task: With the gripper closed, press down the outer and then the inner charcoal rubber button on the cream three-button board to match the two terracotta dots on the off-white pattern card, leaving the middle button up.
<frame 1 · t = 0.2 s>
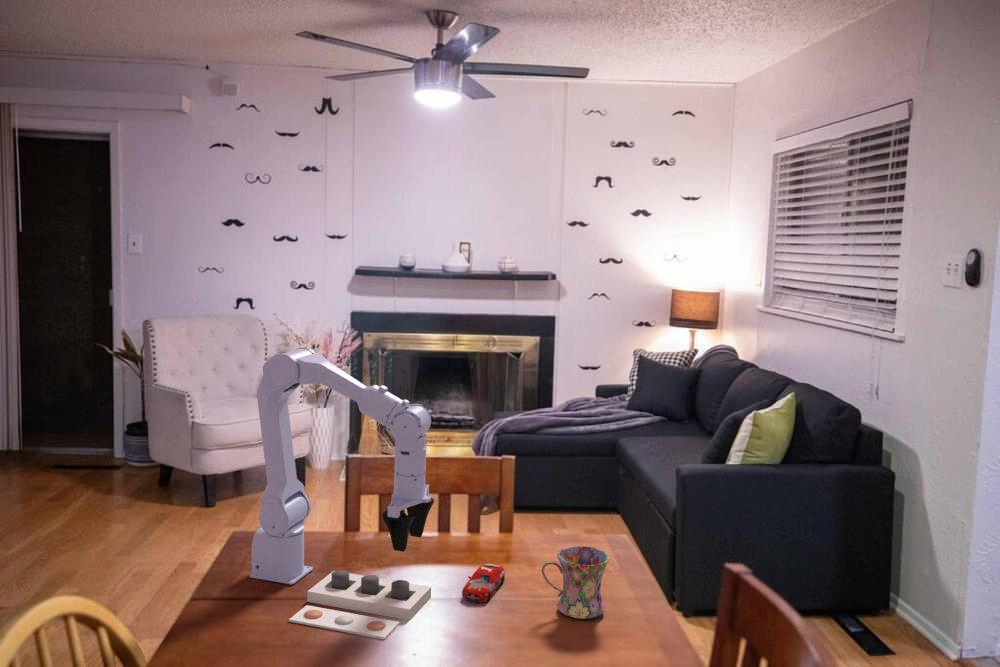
hand: (408, 543, 164), 10 cm above the table, fingers open, 7 cm apart
button outer: (400, 590, 160), point 3 cm above the table, slide at 0.0 cm
button board: (369, 599, 162), on the table
mug: (573, 612, 160), on the table
button middle: (370, 585, 161), point 3 cm above the table, slide at 0.0 cm
race car: (483, 591, 168), on the table
pattern card: (344, 622, 152), on the table
button inner: (340, 580, 163), point 3 cm above the table, slide at 0.0 cm
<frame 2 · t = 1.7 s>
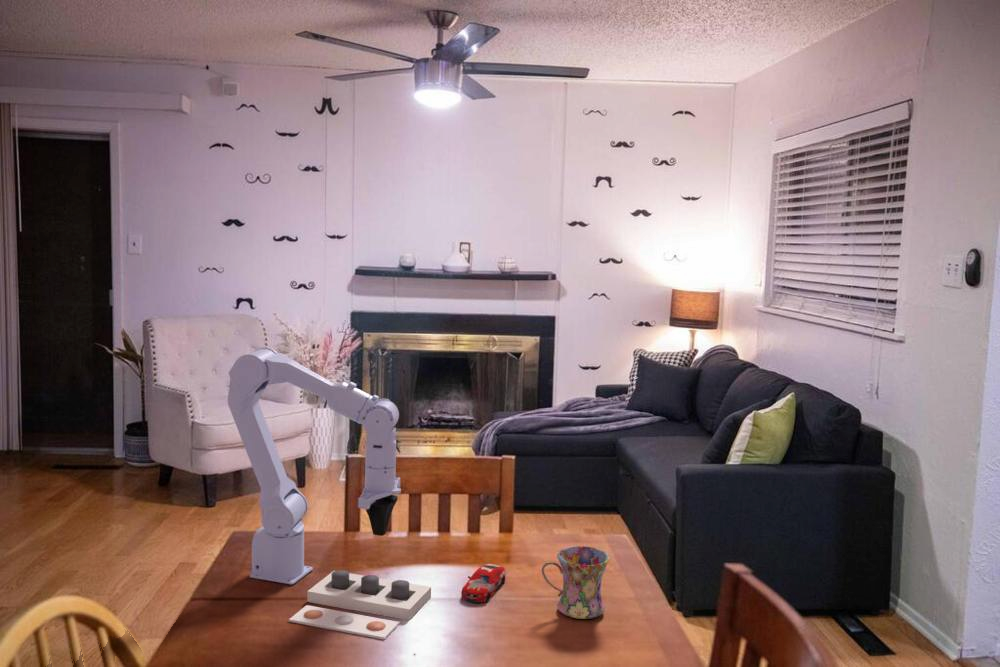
hand: (379, 534, 169), 9 cm above the table, fingers closed
nothing on the table moved.
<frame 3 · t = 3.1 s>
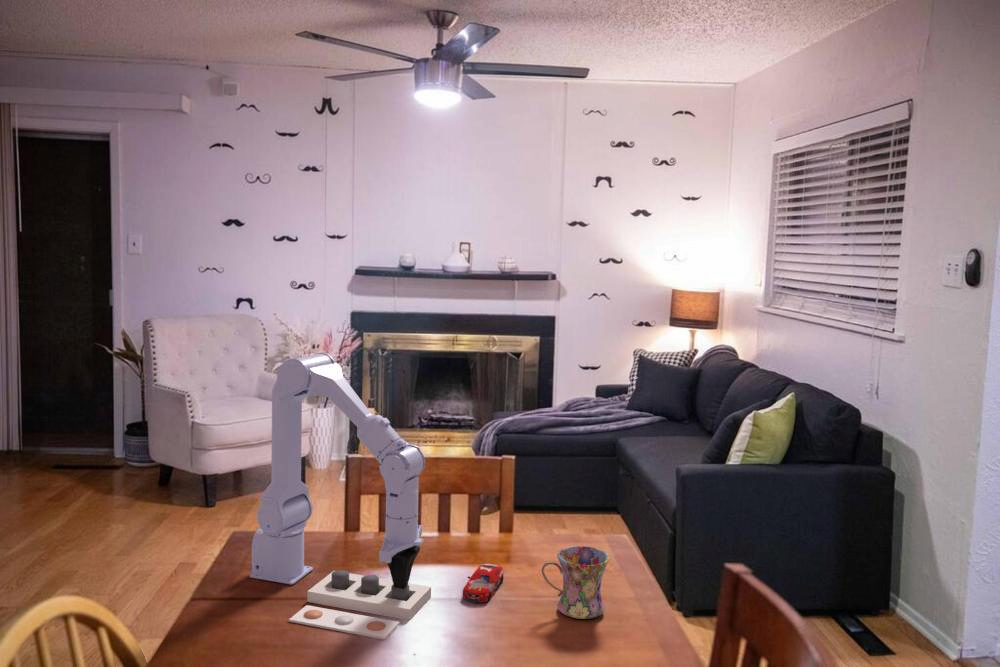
hand: (400, 586, 160), 3 cm above the table, fingers closed, pressing on button outer
button outer: (400, 593, 160), point 2 cm above the table, slide at 0.5 cm, touching gripper
everything else where it was.
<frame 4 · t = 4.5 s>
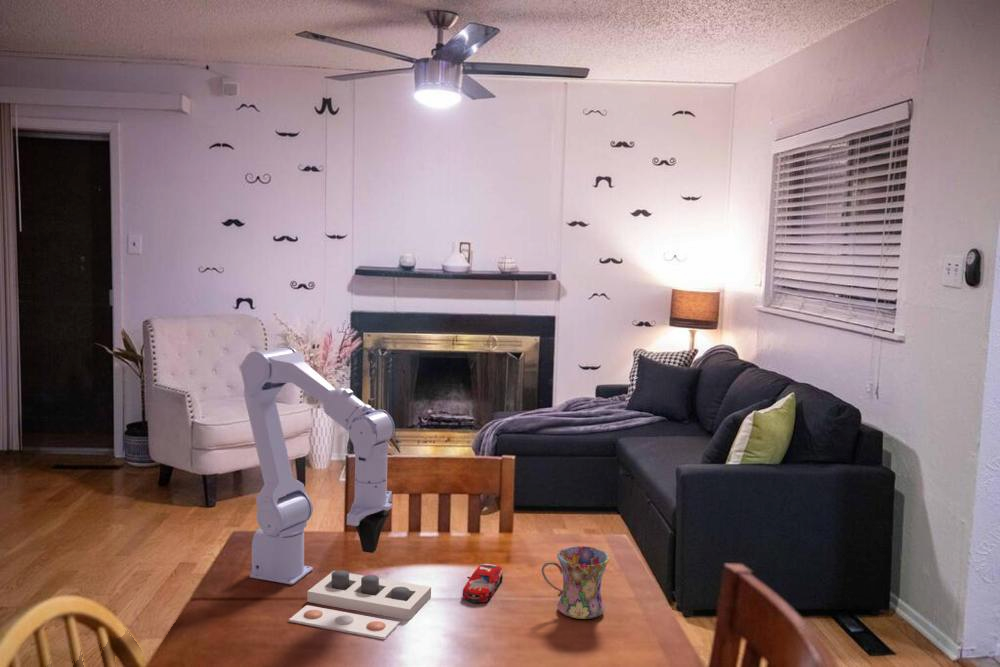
hand: (369, 551, 161), 9 cm above the table, fingers closed
button outer: (400, 597, 160), point 1 cm above the table, slide at 1.3 cm
everything else where it was.
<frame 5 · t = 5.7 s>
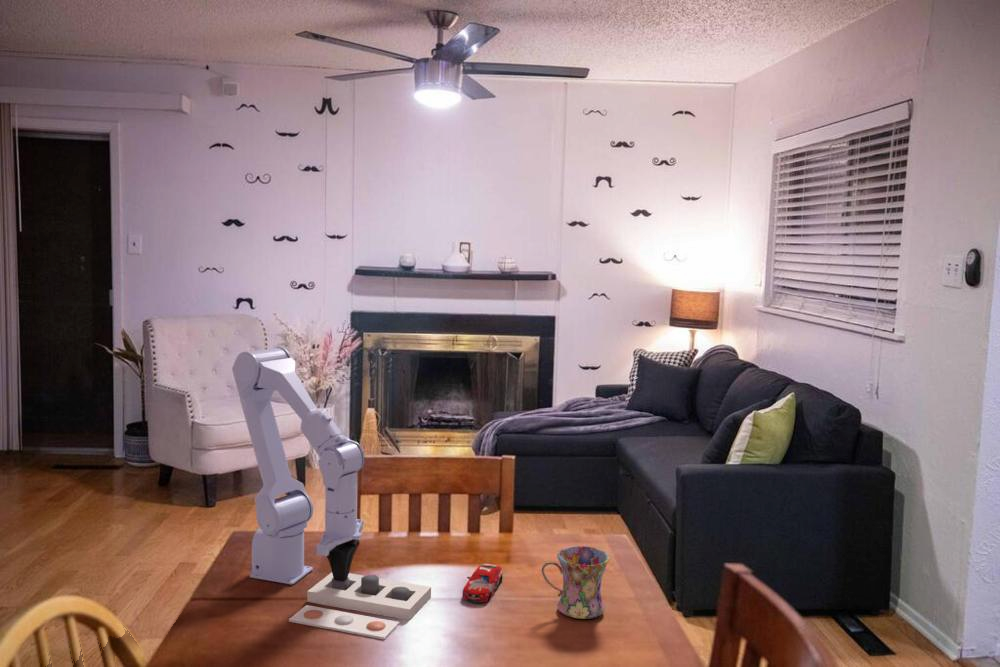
hand: (340, 579, 163), 3 cm above the table, fingers closed, pressing on button inner
button inner: (340, 585, 163), point 2 cm above the table, slide at 1.1 cm, touching gripper
everything else where it was.
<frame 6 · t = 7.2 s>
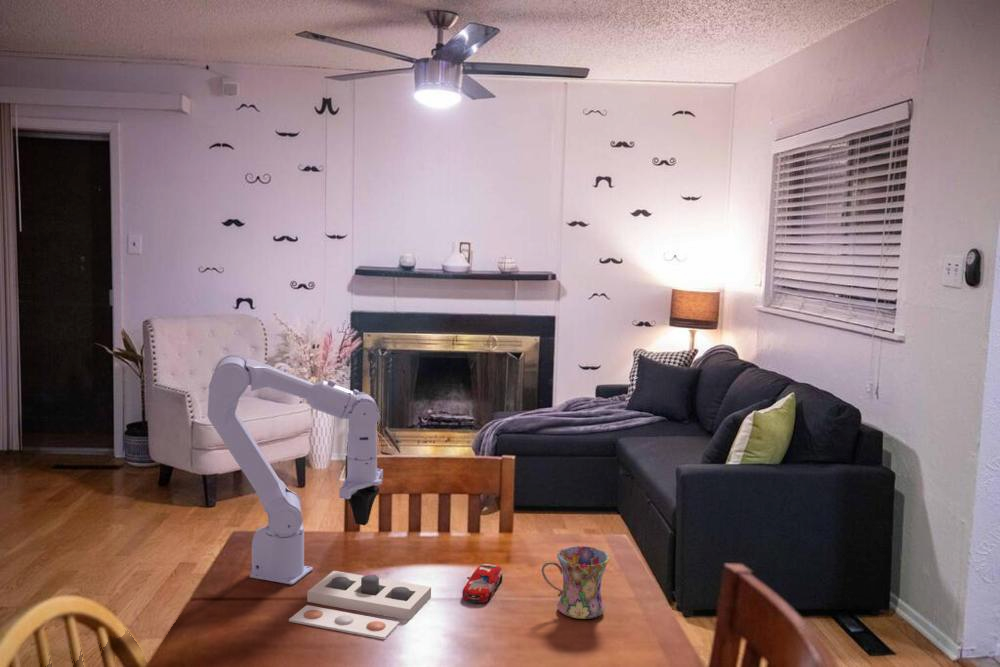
hand: (361, 523, 174), 9 cm above the table, fingers closed
button inner: (340, 586, 163), point 1 cm above the table, slide at 1.3 cm
everything else where it was.
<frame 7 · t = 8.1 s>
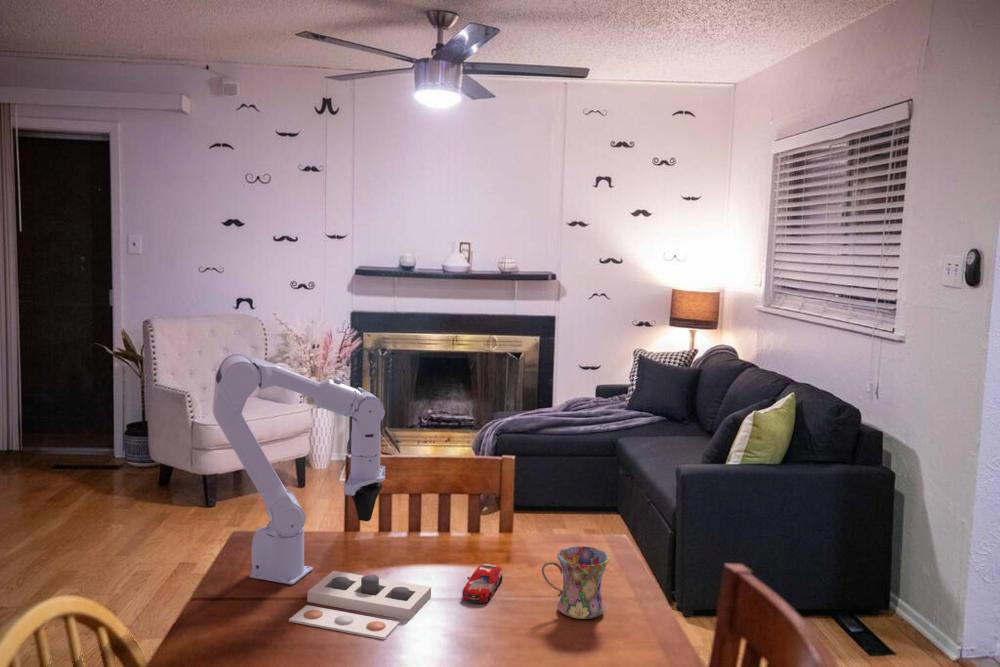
hand: (364, 519, 176), 9 cm above the table, fingers closed
nothing on the table moved.
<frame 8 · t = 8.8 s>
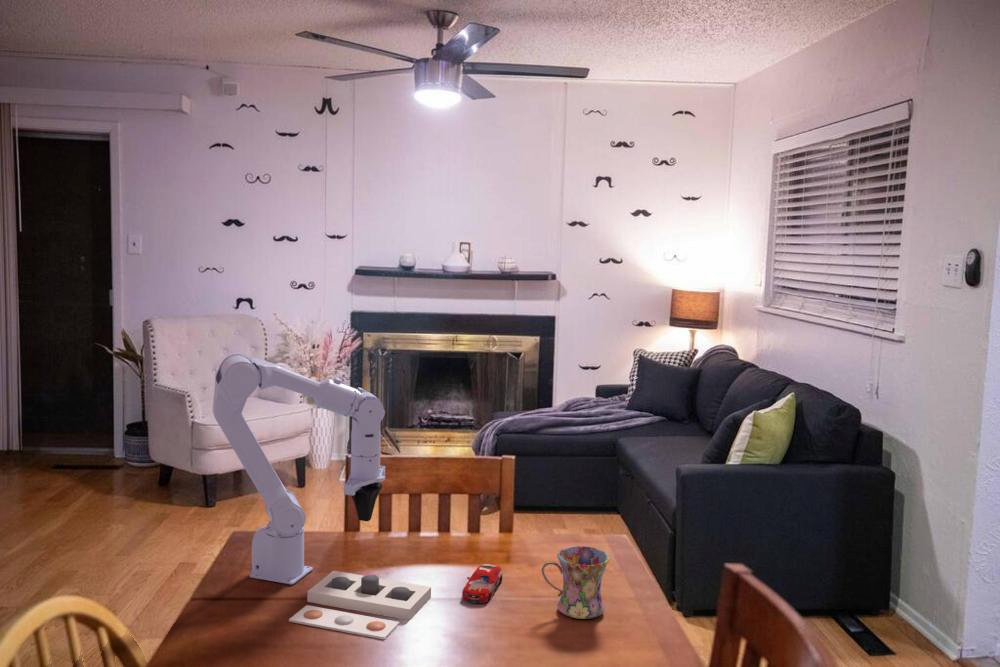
hand: (364, 519, 176), 9 cm above the table, fingers closed
nothing on the table moved.
at the end: button outer slide at 1.3 cm; button inner slide at 1.3 cm; button middle slide at 0.0 cm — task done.
